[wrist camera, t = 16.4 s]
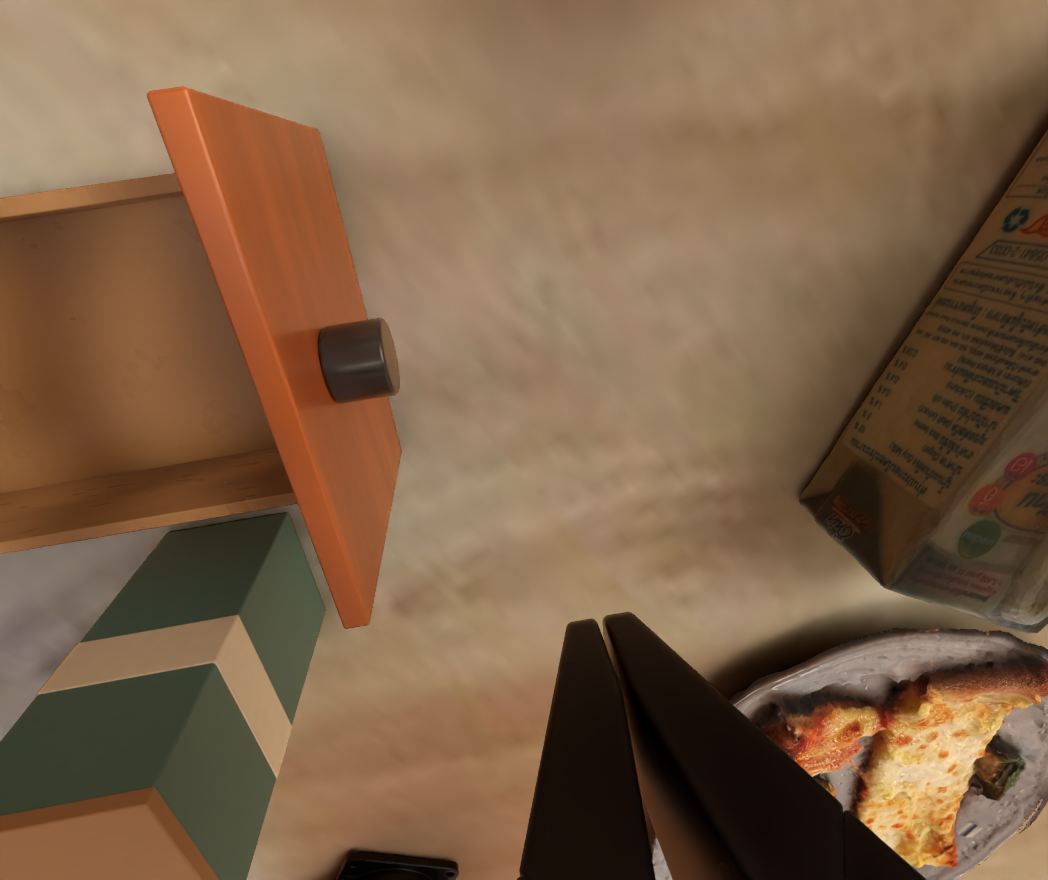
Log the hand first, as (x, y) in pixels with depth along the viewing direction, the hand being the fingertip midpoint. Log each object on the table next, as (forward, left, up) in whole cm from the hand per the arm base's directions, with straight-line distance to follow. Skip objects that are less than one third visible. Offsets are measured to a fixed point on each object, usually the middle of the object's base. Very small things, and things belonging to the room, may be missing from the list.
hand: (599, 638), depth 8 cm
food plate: (-27, +16, -13) cm, 34 cm away
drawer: (+12, +4, -13) cm, 18 cm away
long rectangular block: (+7, +12, -13) cm, 19 cm away
